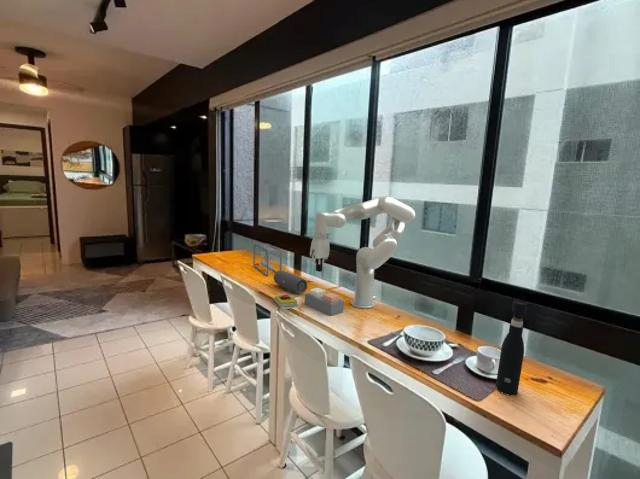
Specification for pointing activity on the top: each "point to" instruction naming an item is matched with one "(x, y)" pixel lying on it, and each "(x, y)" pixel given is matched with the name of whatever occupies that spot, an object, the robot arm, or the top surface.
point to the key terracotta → (331, 297)
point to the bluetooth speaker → (290, 281)
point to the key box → (324, 305)
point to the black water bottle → (512, 353)
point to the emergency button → (286, 301)
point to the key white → (317, 292)
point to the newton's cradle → (267, 258)
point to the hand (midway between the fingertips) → (318, 271)
